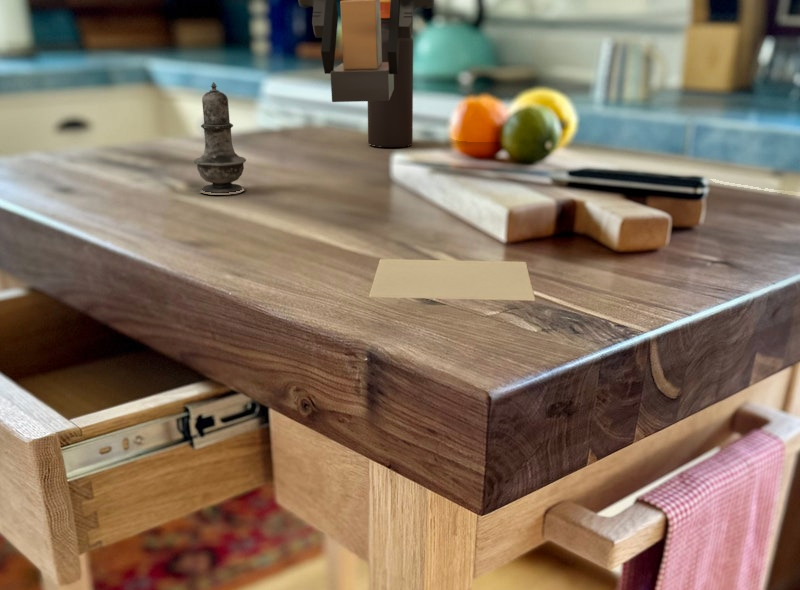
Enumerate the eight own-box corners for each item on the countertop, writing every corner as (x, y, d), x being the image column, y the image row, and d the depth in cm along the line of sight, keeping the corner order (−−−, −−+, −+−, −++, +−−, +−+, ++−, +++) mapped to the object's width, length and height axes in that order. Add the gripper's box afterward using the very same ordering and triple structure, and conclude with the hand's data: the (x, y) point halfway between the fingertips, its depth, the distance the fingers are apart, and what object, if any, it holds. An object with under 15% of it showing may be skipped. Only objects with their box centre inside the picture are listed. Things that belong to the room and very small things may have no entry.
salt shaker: (223, 184, 105) (214, 78, 100) (258, 190, 102) (251, 81, 97) (186, 192, 101) (175, 82, 96) (222, 198, 98) (212, 85, 93)
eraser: (342, 90, 85) (338, 0, 82) (394, 89, 85) (391, -2, 81) (331, 102, 76) (326, 1, 73) (389, 100, 76) (386, -1, 72)
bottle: (411, 149, 130) (412, 1, 122) (366, 148, 130) (363, 1, 122) (413, 142, 136) (414, 1, 128) (370, 141, 136) (368, 1, 128)
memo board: (525, 273, 72) (526, 261, 71) (534, 313, 63) (535, 300, 62) (380, 270, 72) (379, 258, 72) (368, 309, 63) (368, 296, 63)
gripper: (467, -99, 86) (462, 93, 79) (287, -99, 87) (264, 91, 79) (469, -171, 79) (465, 31, 71) (274, -170, 80) (248, 30, 72)
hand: (359, 62), depth 75 cm, fingers closed on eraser, 5 cm apart
